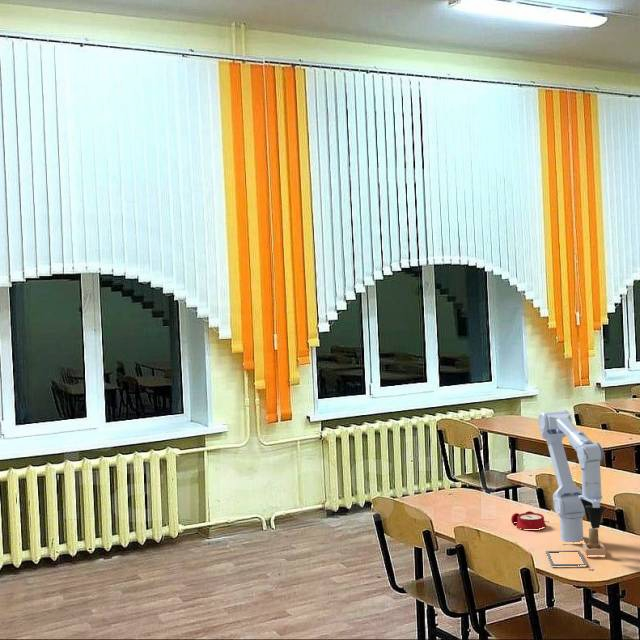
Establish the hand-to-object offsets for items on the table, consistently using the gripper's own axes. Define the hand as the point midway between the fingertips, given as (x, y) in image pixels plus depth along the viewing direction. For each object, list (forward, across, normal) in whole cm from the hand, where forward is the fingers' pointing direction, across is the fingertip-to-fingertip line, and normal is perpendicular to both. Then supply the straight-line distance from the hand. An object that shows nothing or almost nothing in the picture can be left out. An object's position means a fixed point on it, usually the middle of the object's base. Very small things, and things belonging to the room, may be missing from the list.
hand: (593, 524), depth 269 cm
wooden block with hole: (+10, 0, 0) cm, 10 cm away
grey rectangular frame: (+10, +5, -10) cm, 15 cm away
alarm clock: (+10, -34, -16) cm, 40 cm away
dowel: (+10, 0, 0) cm, 10 cm away
